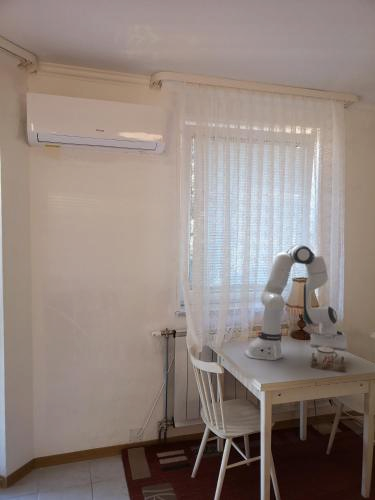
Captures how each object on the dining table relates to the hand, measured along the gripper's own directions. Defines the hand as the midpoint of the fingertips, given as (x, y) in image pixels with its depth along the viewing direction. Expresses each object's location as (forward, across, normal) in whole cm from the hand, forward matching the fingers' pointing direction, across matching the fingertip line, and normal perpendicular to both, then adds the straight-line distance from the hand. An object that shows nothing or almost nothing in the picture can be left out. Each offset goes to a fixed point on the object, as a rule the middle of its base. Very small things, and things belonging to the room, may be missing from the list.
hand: (328, 355), depth 208 cm
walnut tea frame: (+4, 0, +3) cm, 5 cm away
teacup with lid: (+5, 0, +2) cm, 5 cm away
